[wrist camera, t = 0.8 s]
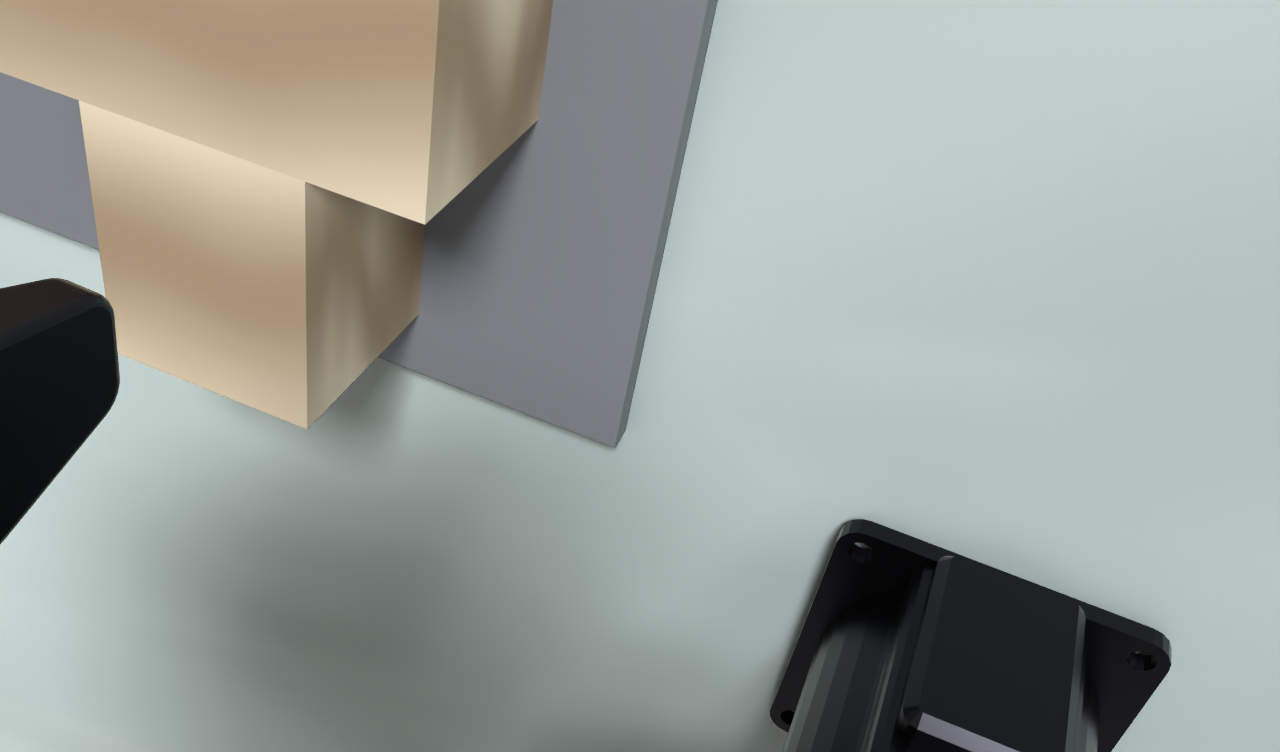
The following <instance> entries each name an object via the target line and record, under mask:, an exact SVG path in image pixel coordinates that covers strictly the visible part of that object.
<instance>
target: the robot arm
mask: <svg viewBox="0 0 1280 752" xmlns="http://www.w3.org/2000/svg"><path fill="white" fill-rule="evenodd" d="M119 384H120V375H119V363H118V352H117V340H116V328H115V316H114V311H113V308H112V306H111V304H110V303H109V301H108V299H106V298H105V297H104V296H102V295H101V294H98V293H96V292H94V291H91V290H89V289H87V288H84V287H82V286H80V285H77V284H75V283H73V282H70V281H68V280H64V279H59V278H51V279H45V280H40V281H35V282H30V283H25V284H20V285H15V286H10V287H6V288H1V289H0V544H1V543H2V542H3V541H4V539H5V538H6V537H7V536H8V535H9V533H10V532H11V531H12V530H13V529H14V527H15V526H16V525H17V524H18V522H19V521H20V520H21V519H22V518H23V516H24V515H25V514H26V513H27V511H28V510H29V509H30V508H31V507H32V505H33V504H34V503H35V502H36V500H37V499H38V498H39V497H40V496H41V494H42V493H43V492H44V491H45V489H46V488H47V487H48V486H49V485H50V483H51V482H52V481H53V480H54V478H55V477H56V476H57V475H58V474H59V472H60V471H61V470H62V469H63V467H64V466H65V465H66V464H67V462H68V461H69V460H70V459H71V458H72V456H73V455H74V454H75V453H76V451H77V450H78V449H79V448H80V447H81V445H82V444H83V443H84V442H85V440H86V439H87V438H88V437H89V436H90V434H91V433H92V432H93V431H94V429H95V428H96V427H97V426H98V425H99V423H100V422H101V421H102V420H103V418H104V417H105V416H106V415H107V413H108V412H109V410H110V409H111V407H112V405H113V403H114V401H115V399H116V396H117V393H118V389H119ZM856 542H859V543H864V544H866V545H868V546H869V547H870V548H871V549H864V548H860V547H859V546H857V545H855V543H856ZM1136 651H1144V652H1148V653H1150V654H1151V655H1145V656H1144V655H1138V654H1136V653H1134V652H1136ZM1170 666H1171V645H1170V641H1169V640H1168V639H1167V638H1166V637H1165V635H1164V634H1162V633H1160V632H1159V631H1157V630H1155V629H1153V628H1150V627H1148V626H1145V625H1142V624H1140V623H1137V622H1135V621H1132V620H1129V619H1127V618H1124V617H1121V616H1119V615H1116V614H1114V613H1111V612H1108V611H1106V610H1103V609H1100V608H1098V607H1095V606H1092V605H1090V604H1087V603H1085V602H1082V601H1079V600H1077V599H1074V598H1071V597H1069V596H1066V595H1064V594H1061V593H1058V592H1056V591H1053V590H1050V589H1048V588H1045V587H1043V586H1040V585H1037V584H1035V583H1032V582H1029V581H1027V580H1024V579H1021V578H1019V577H1016V576H1014V575H1011V574H1008V573H1006V572H1003V571H1000V570H998V569H995V568H993V567H990V566H987V565H985V564H982V563H979V562H977V561H974V560H972V559H969V558H966V557H964V556H961V555H958V554H956V553H953V552H951V551H948V550H945V549H943V548H940V547H937V546H935V545H932V544H929V543H927V542H924V541H922V540H919V539H916V538H914V537H911V536H908V535H906V534H903V533H901V532H898V531H895V530H893V529H890V528H887V527H885V526H882V525H880V524H877V523H874V522H871V521H867V520H863V519H861V520H852V521H850V522H848V523H846V524H845V525H844V526H843V527H842V529H841V530H840V533H839V535H838V538H837V540H836V543H835V545H834V548H833V550H832V553H831V555H830V558H829V560H828V563H827V566H826V568H825V571H824V573H823V576H822V578H821V581H820V583H819V586H818V588H817V591H816V594H815V596H814V599H813V601H812V604H811V606H810V609H809V611H808V614H807V616H806V619H805V621H804V624H803V627H802V629H801V632H800V634H799V637H798V639H797V642H796V644H795V647H794V649H793V652H792V655H791V657H790V660H789V662H788V665H787V667H786V670H785V672H784V675H783V677H782V680H781V682H780V685H779V688H778V690H777V693H776V695H775V698H774V701H773V704H772V707H771V709H770V716H771V718H772V721H773V722H774V723H775V724H776V725H777V726H778V727H779V728H781V729H783V730H785V731H786V732H788V736H787V739H786V742H785V745H784V748H783V751H782V752H1111V751H1112V750H1113V748H1114V747H1115V745H1116V744H1117V743H1118V741H1119V740H1120V738H1121V737H1122V736H1123V734H1124V733H1125V731H1126V730H1127V729H1128V727H1129V726H1130V724H1131V723H1132V722H1133V720H1134V719H1135V718H1136V716H1137V715H1138V713H1139V712H1140V711H1141V709H1142V708H1143V706H1144V705H1145V704H1146V702H1147V701H1148V699H1149V698H1150V697H1151V695H1152V694H1153V692H1154V691H1155V690H1156V688H1157V687H1158V686H1159V684H1160V683H1161V681H1162V680H1163V679H1164V677H1165V676H1166V674H1167V673H1168V672H1169V669H1170ZM793 711H794V712H793Z"/></svg>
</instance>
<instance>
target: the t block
mask: <svg viewBox="0 0 1280 752" xmlns="http://www.w3.org/2000/svg"><path fill="white" fill-rule="evenodd" d="M552 6H553V0H0V72H1V73H4V74H7V75H10V76H13V77H15V78H18V79H21V80H24V81H26V82H29V83H32V84H35V85H38V86H40V87H43V88H46V89H49V90H52V91H54V92H57V93H60V94H63V95H65V96H68V97H71V98H74V99H77V100H79V107H80V114H81V121H82V128H83V136H84V143H85V150H86V157H87V165H88V172H89V179H90V186H91V194H92V201H93V208H94V215H95V223H96V230H97V237H98V244H99V251H100V259H101V266H102V273H103V280H104V288H105V295H106V299H108V301H109V303H110V304H111V306H112V308H113V311H114V316H115V328H116V340H117V352H118V354H120V355H122V356H125V357H127V358H130V359H132V360H135V361H137V362H140V363H142V364H145V365H147V366H150V367H152V368H155V369H157V370H160V371H162V372H165V373H167V374H170V375H172V376H175V377H177V378H180V379H182V380H185V381H187V382H190V383H192V384H195V385H197V386H200V387H202V388H205V389H207V390H210V391H212V392H215V393H217V394H220V395H222V396H225V397H227V398H229V399H232V400H234V401H237V402H239V403H242V404H244V405H247V406H249V407H252V408H254V409H257V410H259V411H262V412H264V413H267V414H269V415H272V416H274V417H277V418H279V419H282V420H284V421H287V422H289V423H292V424H294V425H297V426H299V427H302V428H304V429H308V428H309V427H310V426H311V425H312V424H313V423H314V422H315V421H316V420H317V419H318V418H319V417H320V416H321V415H322V414H323V413H324V412H325V411H326V410H327V409H328V408H329V407H330V406H331V405H332V404H333V403H334V401H335V400H336V399H337V398H338V397H339V396H340V395H341V394H342V393H343V392H344V391H345V390H346V389H347V388H348V387H349V386H350V385H351V384H352V383H353V382H354V381H355V380H356V379H357V378H358V377H359V376H360V375H361V373H362V372H363V371H364V370H365V369H366V368H367V367H368V366H369V365H370V364H371V363H372V362H373V361H374V360H375V359H376V358H377V357H378V356H379V355H380V354H381V353H382V352H383V351H384V350H385V349H386V348H387V347H388V345H389V344H390V343H391V342H392V341H393V340H394V339H395V338H396V337H397V336H398V335H399V334H400V333H401V332H402V331H403V330H404V329H405V328H406V327H407V326H408V325H409V324H410V323H411V322H412V321H413V320H414V319H415V318H416V316H417V315H418V314H419V308H420V292H421V277H422V261H423V246H424V230H425V224H426V223H427V222H428V221H430V220H431V219H432V218H433V217H434V216H435V215H436V214H437V213H438V212H439V211H440V210H441V209H442V208H444V207H445V206H446V205H447V204H448V203H449V202H450V201H451V200H452V199H453V198H454V197H455V196H457V195H458V194H459V193H460V192H461V191H462V190H463V189H464V188H465V187H466V186H467V185H468V184H469V183H471V182H472V181H473V180H474V179H475V178H476V177H477V176H478V175H479V174H480V173H481V172H482V171H483V170H485V169H486V168H487V167H488V166H489V165H490V164H491V163H492V162H493V161H494V160H495V159H496V158H497V157H499V156H500V155H501V154H502V153H503V152H504V151H505V150H506V149H507V148H508V147H509V146H510V145H511V144H513V143H514V142H515V141H516V140H517V139H518V138H519V137H520V136H521V135H522V134H523V133H524V132H525V131H527V130H528V129H529V128H530V127H531V126H532V125H533V124H534V123H535V122H536V121H537V120H538V117H539V109H540V101H541V93H542V85H543V77H544V69H545V61H546V53H547V46H548V38H549V30H550V22H551V14H552Z"/></svg>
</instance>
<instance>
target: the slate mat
mask: <svg viewBox="0 0 1280 752" xmlns="http://www.w3.org/2000/svg"><path fill="white" fill-rule="evenodd" d="M716 5H717V0H553V6H552V14H551V22H550V30H549V38H548V46H547V53H546V61H545V69H544V77H543V85H542V93H541V101H540V109H539V117H538V120H537V121H536V122H535V123H534V124H533V125H532V126H531V127H530V128H529V129H528V130H527V131H525V132H524V133H523V134H522V135H521V136H520V137H519V138H518V139H517V140H516V141H515V142H514V143H513V144H511V145H510V146H509V147H508V148H507V149H506V150H505V151H504V152H503V153H502V154H501V155H500V156H499V157H497V158H496V159H495V160H494V161H493V162H492V163H491V164H490V165H489V166H488V167H487V168H486V169H485V170H483V171H482V172H481V173H480V174H479V175H478V176H477V177H476V178H475V179H474V180H473V181H472V182H471V183H469V184H468V185H467V186H466V187H465V188H464V189H463V190H462V191H461V192H460V193H459V194H458V195H457V196H455V197H454V198H453V199H452V200H451V201H450V202H449V203H448V204H447V205H446V206H445V207H444V208H442V209H441V210H440V211H439V212H438V213H437V214H436V215H435V216H434V217H433V218H432V219H431V220H430V221H428V222H427V223H426V224H425V230H424V246H423V261H422V277H421V292H420V308H419V314H418V315H417V316H416V318H415V319H414V320H413V321H412V322H411V323H410V324H409V325H408V326H407V327H406V328H405V329H404V330H403V331H402V332H401V333H400V334H399V335H398V336H397V337H396V338H395V339H394V340H393V341H392V342H391V343H390V344H389V345H388V347H387V348H386V349H385V350H384V351H383V352H382V353H381V354H380V355H379V356H378V357H379V358H382V359H385V360H387V361H390V362H392V363H395V364H398V365H400V366H403V367H406V368H408V369H411V370H413V371H416V372H419V373H421V374H424V375H426V376H429V377H432V378H434V379H437V380H439V381H442V382H445V383H447V384H450V385H452V386H455V387H458V388H460V389H463V390H465V391H468V392H471V393H473V394H476V395H478V396H481V397H484V398H486V399H489V400H491V401H494V402H497V403H499V404H502V405H504V406H507V407H510V408H512V409H515V410H517V411H520V412H523V413H525V414H528V415H530V416H533V417H536V418H538V419H541V420H543V421H546V422H549V423H551V424H554V425H556V426H559V427H562V428H564V429H567V430H569V431H572V432H575V433H577V434H580V435H582V436H585V437H588V438H590V439H593V440H595V441H598V442H601V443H603V444H606V445H609V446H611V447H614V448H615V446H616V445H617V443H618V442H619V440H620V438H621V437H622V435H623V433H624V432H625V429H626V425H627V420H628V415H629V411H630V406H631V401H632V397H633V392H634V387H635V383H636V378H637V373H638V369H639V364H640V359H641V355H642V350H643V345H644V341H645V336H646V331H647V327H648V322H649V317H650V313H651V308H652V303H653V299H654V294H655V289H656V285H657V280H658V275H659V271H660V266H661V261H662V257H663V252H664V247H665V243H666V238H667V234H668V229H669V224H670V220H671V215H672V210H673V206H674V201H675V196H676V192H677V187H678V182H679V178H680V173H681V168H682V164H683V159H684V154H685V150H686V145H687V140H688V136H689V131H690V126H691V122H692V117H693V112H694V108H695V103H696V98H697V94H698V89H699V84H700V80H701V75H702V70H703V66H704V61H705V56H706V52H707V47H708V42H709V38H710V33H711V28H712V24H713V19H714V14H715V10H716ZM0 212H2V213H5V214H7V215H10V216H13V217H15V218H18V219H20V220H23V221H26V222H28V223H31V224H33V225H36V226H39V227H41V228H44V229H46V230H49V231H52V232H54V233H57V234H59V235H62V236H65V237H67V238H70V239H72V240H75V241H78V242H80V243H83V244H85V245H88V246H91V247H93V248H96V249H98V250H99V244H98V237H97V230H96V223H95V215H94V208H93V201H92V194H91V186H90V179H89V172H88V165H87V157H86V150H85V143H84V136H83V128H82V121H81V114H80V107H79V100H77V99H74V98H71V97H68V96H65V95H63V94H60V93H57V92H54V91H52V90H49V89H46V88H43V87H40V86H38V85H35V84H32V83H29V82H26V81H24V80H21V79H18V78H15V77H13V76H10V75H7V74H4V73H1V72H0Z"/></svg>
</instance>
